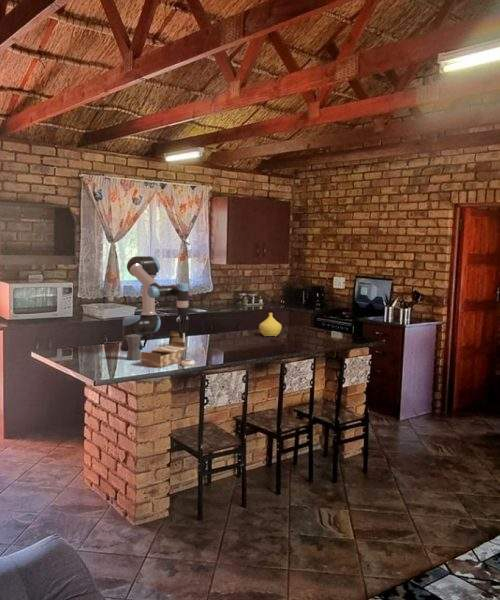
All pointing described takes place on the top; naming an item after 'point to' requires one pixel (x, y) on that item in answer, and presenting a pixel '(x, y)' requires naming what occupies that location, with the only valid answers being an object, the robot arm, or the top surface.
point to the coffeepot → (134, 345)
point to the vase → (270, 326)
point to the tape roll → (187, 362)
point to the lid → (172, 347)
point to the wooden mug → (174, 337)
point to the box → (159, 358)
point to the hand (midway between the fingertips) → (182, 343)
